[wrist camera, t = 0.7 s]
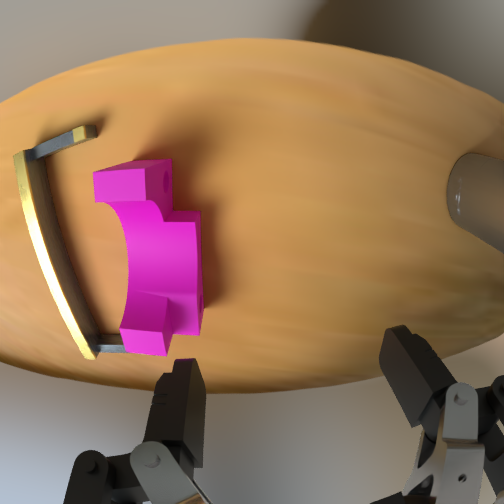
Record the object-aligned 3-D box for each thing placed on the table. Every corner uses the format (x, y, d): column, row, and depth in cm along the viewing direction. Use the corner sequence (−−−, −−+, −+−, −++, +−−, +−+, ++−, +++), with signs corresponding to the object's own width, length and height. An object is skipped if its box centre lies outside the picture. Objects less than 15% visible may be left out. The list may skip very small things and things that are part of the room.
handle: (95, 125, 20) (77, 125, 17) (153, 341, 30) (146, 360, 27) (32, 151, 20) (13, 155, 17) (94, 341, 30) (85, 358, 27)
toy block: (204, 307, 28) (195, 358, 21) (147, 304, 28) (126, 351, 21) (200, 158, 22) (184, 167, 15) (132, 160, 22) (93, 172, 15)
